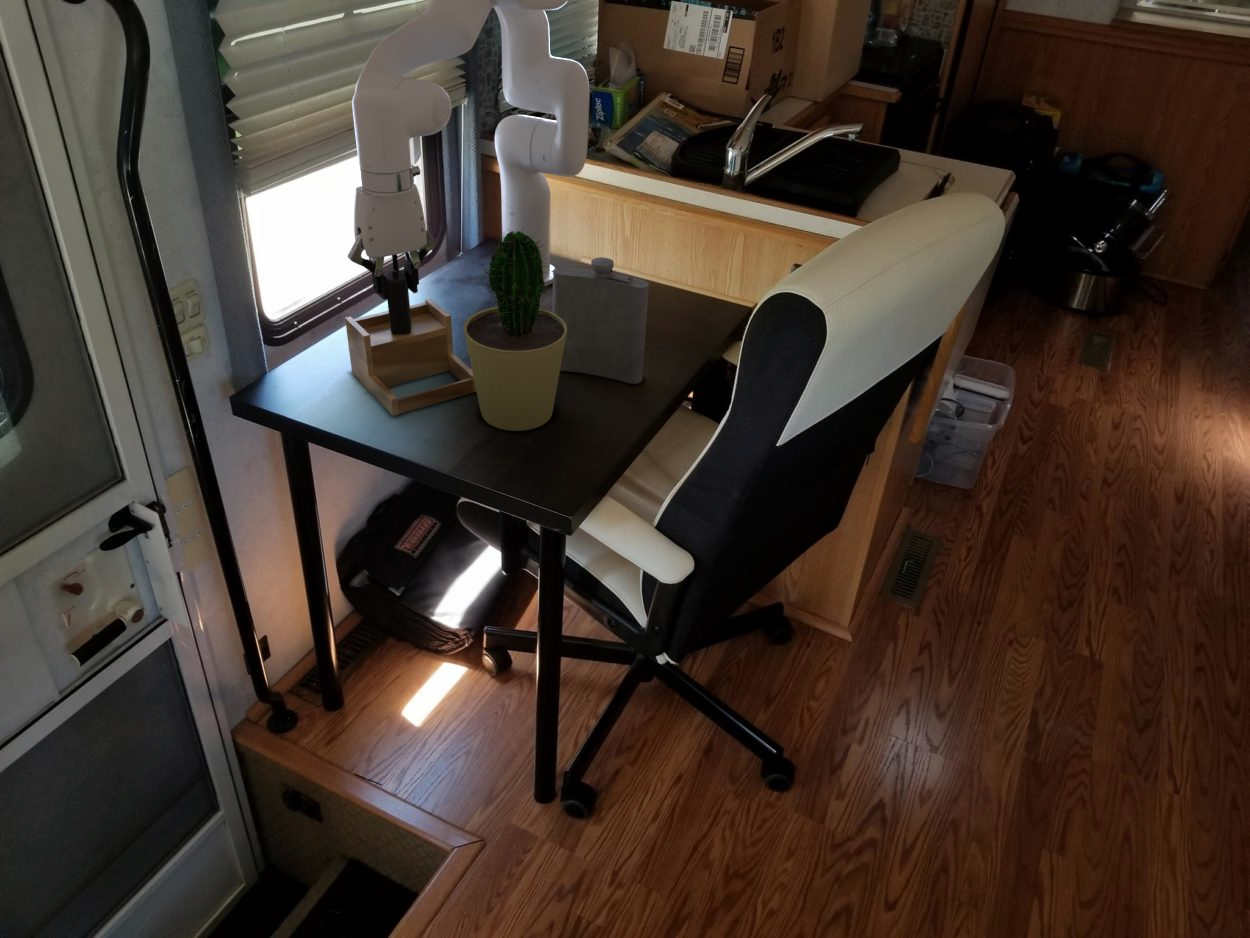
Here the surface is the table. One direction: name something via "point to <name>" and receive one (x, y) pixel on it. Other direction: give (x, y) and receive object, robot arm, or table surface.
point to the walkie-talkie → (398, 299)
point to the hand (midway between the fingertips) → (397, 291)
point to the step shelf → (407, 357)
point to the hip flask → (602, 320)
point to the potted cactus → (516, 340)
